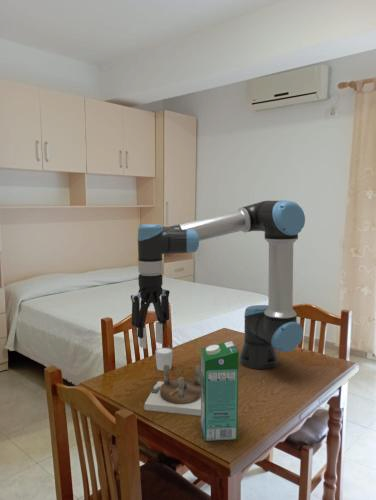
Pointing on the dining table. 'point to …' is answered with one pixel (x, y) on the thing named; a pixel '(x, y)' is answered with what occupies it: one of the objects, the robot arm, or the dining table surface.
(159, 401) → the stand
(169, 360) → the white tapered cup
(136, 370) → the dining table surface
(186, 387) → the cam capstan
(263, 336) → the robot arm
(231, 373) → the milk carton
